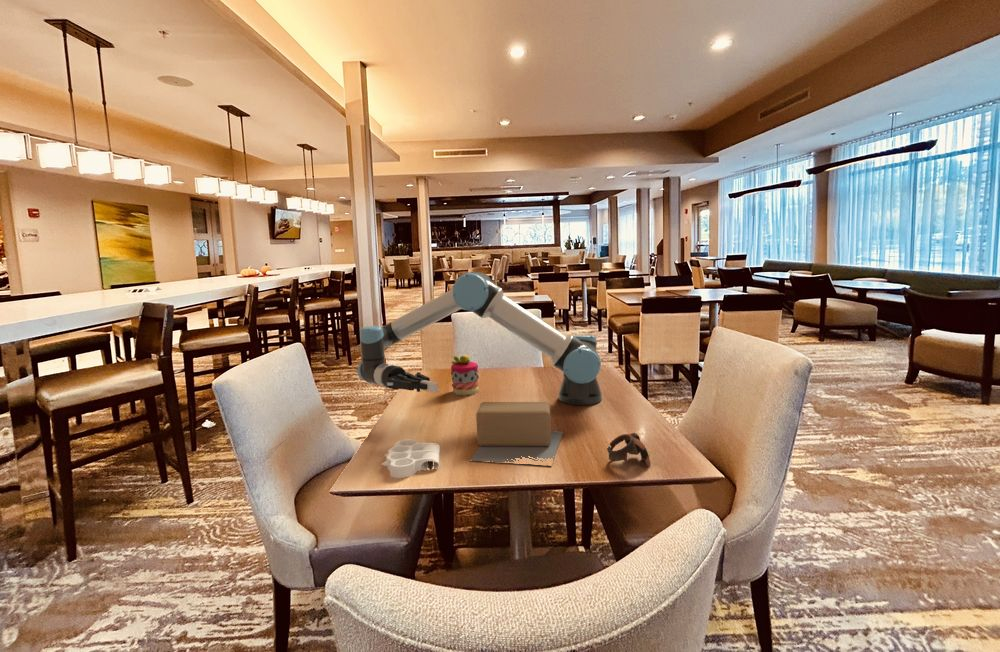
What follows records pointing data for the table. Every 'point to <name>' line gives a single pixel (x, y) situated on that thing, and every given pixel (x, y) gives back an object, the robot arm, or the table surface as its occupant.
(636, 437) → the brown hollow looped part
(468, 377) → the cake
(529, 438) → the wooden block
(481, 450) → the rubber mat
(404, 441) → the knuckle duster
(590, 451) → the table surface
